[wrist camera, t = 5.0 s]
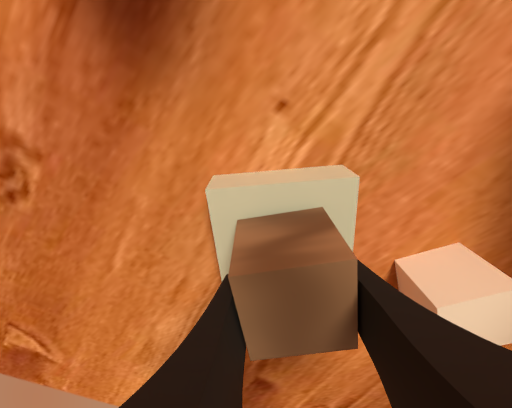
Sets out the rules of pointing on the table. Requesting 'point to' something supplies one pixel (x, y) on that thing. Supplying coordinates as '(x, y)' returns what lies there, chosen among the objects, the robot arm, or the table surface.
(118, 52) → the table surface
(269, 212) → the sage slab
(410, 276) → the cream cube
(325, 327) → the walnut cube
